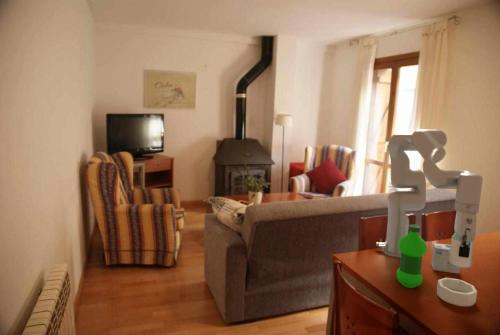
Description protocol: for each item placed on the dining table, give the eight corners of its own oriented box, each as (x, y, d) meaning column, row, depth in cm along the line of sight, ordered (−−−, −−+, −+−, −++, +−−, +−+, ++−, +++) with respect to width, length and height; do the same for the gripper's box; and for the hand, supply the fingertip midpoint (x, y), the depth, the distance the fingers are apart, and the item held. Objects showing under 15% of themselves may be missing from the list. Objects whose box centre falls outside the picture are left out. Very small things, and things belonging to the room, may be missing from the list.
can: (445, 263, 128) (448, 233, 126) (454, 259, 132) (457, 229, 130) (465, 270, 123) (469, 239, 121) (474, 266, 126) (478, 235, 125)
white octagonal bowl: (440, 302, 126) (441, 290, 125) (434, 286, 137) (435, 275, 137) (479, 309, 122) (480, 297, 121) (469, 292, 133) (471, 281, 133)
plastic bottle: (390, 278, 144) (396, 221, 140) (416, 279, 143) (421, 222, 139) (400, 290, 134) (406, 230, 130) (427, 291, 133) (434, 230, 129)
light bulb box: (456, 267, 155) (459, 245, 153) (460, 274, 149) (463, 251, 147) (430, 264, 158) (432, 242, 157) (432, 270, 152) (435, 247, 150)
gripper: (486, 214, 115) (479, 264, 117) (471, 202, 131) (466, 246, 134) (460, 212, 117) (454, 260, 120) (449, 200, 133) (444, 243, 136)
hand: (460, 252), depth 127 cm, fingers closed on can, 7 cm apart
